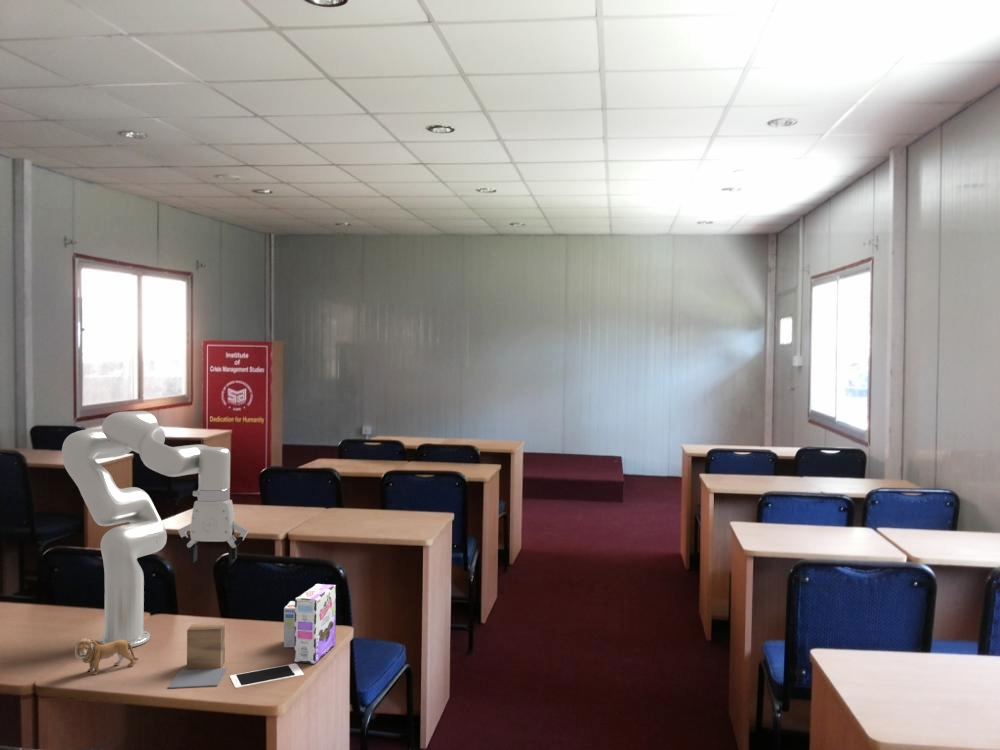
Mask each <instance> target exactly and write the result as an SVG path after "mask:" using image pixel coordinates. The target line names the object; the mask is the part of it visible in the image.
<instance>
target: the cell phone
mask: <svg viewBox="0 0 1000 750" xmlns="http://www.w3.org/2000/svg"><path fill="white" fill-rule="evenodd" d="M301 676H304V672H303V671H302V670H301V668H300V666H299V665H298V664H297V663H290V664H285V665H281V666H280V665H278V666H275V667H268V668H263V669H259V670H252V671H251V670H250V671H248V672H242V673H236V674H230V676H229V679H230V680H231V682H232V685H233V687H234V688H235V689H239V688H244V687H250V686H255V685H261V684H265V683H271V682H276V681H282V680H286V679H291V678H296V677H301Z"/></svg>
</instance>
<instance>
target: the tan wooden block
mask: <svg viewBox="0 0 1000 750" xmlns="http://www.w3.org/2000/svg"><path fill="white" fill-rule="evenodd" d="M225 658H226V622H209V623H207V622H205V623H191V625H190V626H189V627H188V629H186V670H195V669H216V668H223V666H224V664H225V662H226V659H225Z"/></svg>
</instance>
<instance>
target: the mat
mask: <svg viewBox="0 0 1000 750" xmlns="http://www.w3.org/2000/svg"><path fill="white" fill-rule="evenodd" d="M226 671H227V667H222V668H216V669H195V670H187V669H180V670H179V671H178V672H177V674H176V675H175V676H174V678H172V679H173V680H172V681H171V682H170V684H169V685H168V686H167V689H169V688H170V689H187V688H189V689H190V688H204V687H205V688H207V687H218V686H219V684H220V682H221V680H222V679H223V676H224V674H225V673H226ZM170 689H169V690H170Z"/></svg>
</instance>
